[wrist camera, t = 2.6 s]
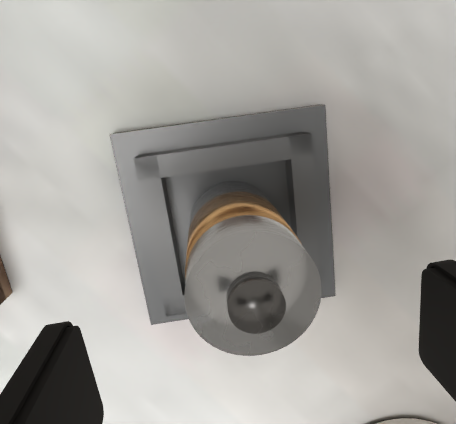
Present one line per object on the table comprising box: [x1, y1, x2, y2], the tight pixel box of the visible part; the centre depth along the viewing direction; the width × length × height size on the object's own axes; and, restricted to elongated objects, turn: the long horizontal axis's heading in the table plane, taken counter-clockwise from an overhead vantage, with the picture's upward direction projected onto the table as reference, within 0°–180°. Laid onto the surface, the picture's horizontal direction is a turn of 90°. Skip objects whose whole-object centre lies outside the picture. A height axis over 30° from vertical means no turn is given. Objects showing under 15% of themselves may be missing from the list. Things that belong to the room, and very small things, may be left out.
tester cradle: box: [110, 105, 335, 325], centre depth 22 cm, size 12×12×2 cm
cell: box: [184, 181, 321, 356], centre depth 17 cm, size 5×5×10 cm
